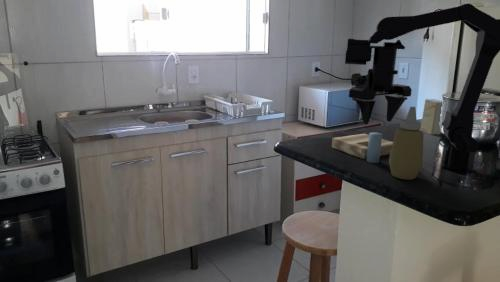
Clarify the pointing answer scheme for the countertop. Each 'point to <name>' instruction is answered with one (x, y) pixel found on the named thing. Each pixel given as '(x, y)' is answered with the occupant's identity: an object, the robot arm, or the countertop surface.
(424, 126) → the skincare box
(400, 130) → the squeeze bottle
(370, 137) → the peg
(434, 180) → the countertop surface
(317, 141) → the countertop surface
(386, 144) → the board
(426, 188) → the countertop surface
